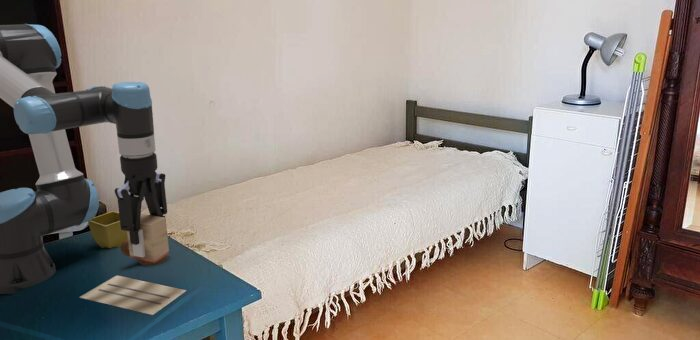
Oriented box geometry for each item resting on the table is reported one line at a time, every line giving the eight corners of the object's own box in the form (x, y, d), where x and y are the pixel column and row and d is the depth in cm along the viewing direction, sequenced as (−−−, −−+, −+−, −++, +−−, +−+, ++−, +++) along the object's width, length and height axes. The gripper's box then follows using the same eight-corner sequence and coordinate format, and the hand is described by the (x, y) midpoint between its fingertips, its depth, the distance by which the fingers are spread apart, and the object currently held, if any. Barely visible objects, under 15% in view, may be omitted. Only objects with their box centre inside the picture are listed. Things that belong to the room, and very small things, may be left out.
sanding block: (130, 257, 125) (125, 221, 123) (145, 248, 130) (141, 213, 127) (154, 262, 123) (150, 225, 120) (169, 253, 127) (165, 217, 125)
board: (79, 301, 130) (79, 297, 130) (117, 279, 141) (116, 275, 141) (153, 319, 123) (152, 314, 122) (187, 294, 133) (186, 290, 133)
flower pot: (135, 244, 163) (132, 216, 160) (109, 255, 155) (105, 225, 153) (117, 238, 167) (113, 210, 165) (90, 248, 160) (86, 219, 157)
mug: (130, 277, 142) (125, 244, 139) (118, 268, 147) (114, 236, 145) (173, 263, 150) (169, 231, 147) (160, 255, 155) (157, 224, 153)
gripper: (120, 166, 110) (133, 270, 117) (178, 146, 126) (186, 238, 133) (92, 162, 113) (105, 264, 119) (152, 142, 129) (161, 233, 135)
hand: (148, 250), depth 126 cm, fingers closed on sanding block, 5 cm apart
